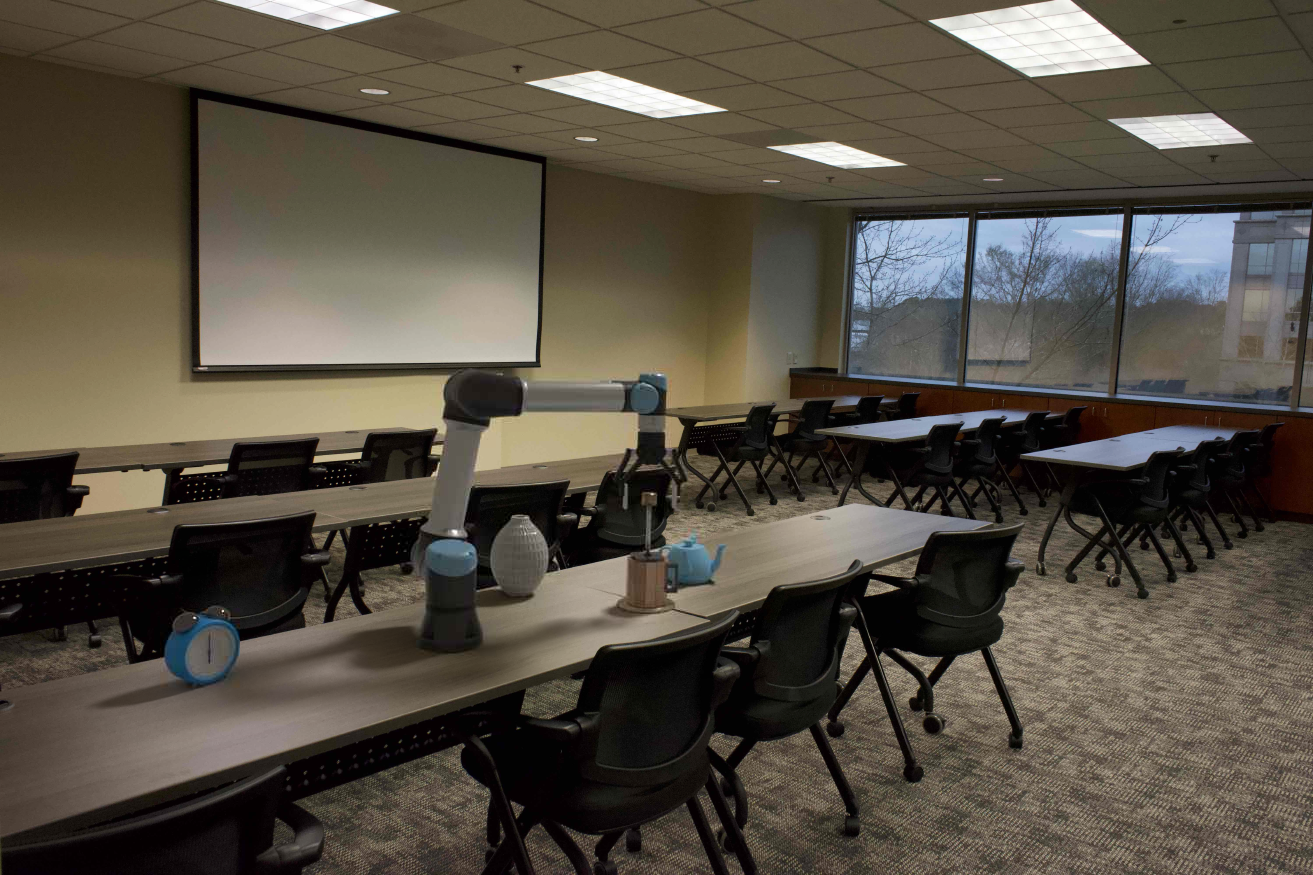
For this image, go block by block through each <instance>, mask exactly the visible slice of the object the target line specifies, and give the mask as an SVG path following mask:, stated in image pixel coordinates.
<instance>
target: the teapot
mask: <svg viewBox="0 0 1313 875" xmlns="http://www.w3.org/2000/svg"><path fill="white" fill-rule="evenodd" d="M697 538H698V534H697V533H693V534H691V538H688V539H687V538H686V539H684V540H683V542H682V543H676V544H674V545H673V546H670V545H664V546H662V547H660V548H659V550H658V552H659V553H660V554H661V555H662V556H663V551H664V550H669V552H668V553H667V555H666V557H667V558H668V563H678V584H679V583H683V584H682V585H701V584H700V583H702V584H705V582H706V583H707V581H708V582H709V581H710V579H712V577H713V576H714V574H715V572H717V571H718V570H719V569H720V567H721V565H722V556H723V551H724V549H725V548H726V547H727V546H728V545H729V543H723V544H720V545H718V547H717V549H716V554H715V558H714V559H713V560H712V558H711V556H710V554H709V553H708V551H707V549H706V548H705V546H704V545H702V544H699V543H697ZM669 580H670V581H669ZM668 581H669V582H671V581H672V582H671V583H673V568H668Z"/></svg>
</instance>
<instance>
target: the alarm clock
mask: <svg viewBox="0 0 1313 875" xmlns="http://www.w3.org/2000/svg"><path fill="white" fill-rule="evenodd" d="M230 619H231V614H230V612H229V611H228V610H227V609H226V608H225V607H223V605H220V606H219V605H212V606H210V607H208V608H207V609H206V610H205V611H201V612H199V615H198V614H196V613H194V612H189V611H188V612H185V613H182V614H180V615H178V616H177V617H175V620H173V623H172V629H173V630H172V632H171V633H170V634H169V637H168V638H167V640H166V643H165V648H164V654H163V655H164V662H165V665H166V667H167V669H168V671H169V672H170V673H171V674H172V675H174V677H176V678H178V679H181V680H183V681H187V682H189V683H192V684H193V686H192V689H195V688H196V687H197V685H209V684H210V685H211V684H213V683H215V682H217V681H219V680H220V679H222V678H223V679H227V678H226V675H227V674H228V673H229V672H230V670H232V668H234V667H233V666H235V664H236V661H237V660H238V657H239V654H240V649H241V648H240V647H241V642H240V637H239V634H238V631H237V630H236V628H235V627H234V626H233V625H232V624H231V623H230V622H227V621H230Z"/></svg>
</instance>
